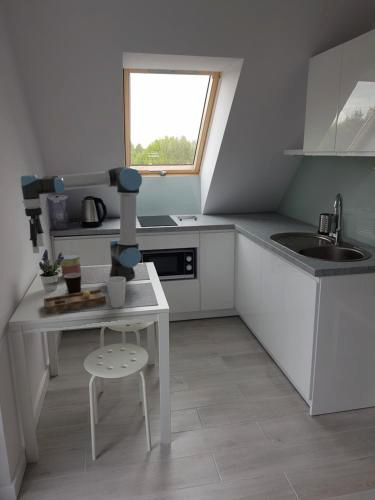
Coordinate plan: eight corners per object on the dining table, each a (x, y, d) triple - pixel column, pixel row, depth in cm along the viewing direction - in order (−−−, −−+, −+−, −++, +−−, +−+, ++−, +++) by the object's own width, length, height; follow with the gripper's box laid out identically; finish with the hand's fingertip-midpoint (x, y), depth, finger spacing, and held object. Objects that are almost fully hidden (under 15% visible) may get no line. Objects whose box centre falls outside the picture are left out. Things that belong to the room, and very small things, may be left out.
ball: (89, 296, 196) (89, 289, 195) (91, 298, 193) (90, 291, 192) (82, 297, 195) (82, 290, 194) (84, 299, 192) (83, 292, 191)
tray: (100, 295, 203) (100, 289, 202) (105, 303, 192) (105, 296, 191) (44, 305, 192) (43, 298, 191) (46, 314, 181) (45, 307, 180)
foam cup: (118, 309, 184) (116, 284, 181) (104, 306, 189) (101, 280, 186) (131, 303, 192) (129, 278, 189) (117, 299, 197) (115, 275, 194)
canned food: (64, 273, 243) (62, 254, 240) (83, 272, 243) (81, 253, 240) (60, 279, 232) (57, 259, 229) (79, 278, 232) (77, 258, 229)
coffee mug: (78, 296, 203) (76, 278, 200) (63, 295, 205) (61, 277, 202) (88, 288, 214) (86, 271, 211) (73, 288, 216) (71, 270, 213)
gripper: (29, 204, 200) (35, 244, 205) (19, 211, 176) (26, 256, 182) (44, 203, 201) (50, 243, 207) (36, 210, 177) (42, 255, 183)
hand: (38, 249), depth 194 cm, fingers open, 13 cm apart
